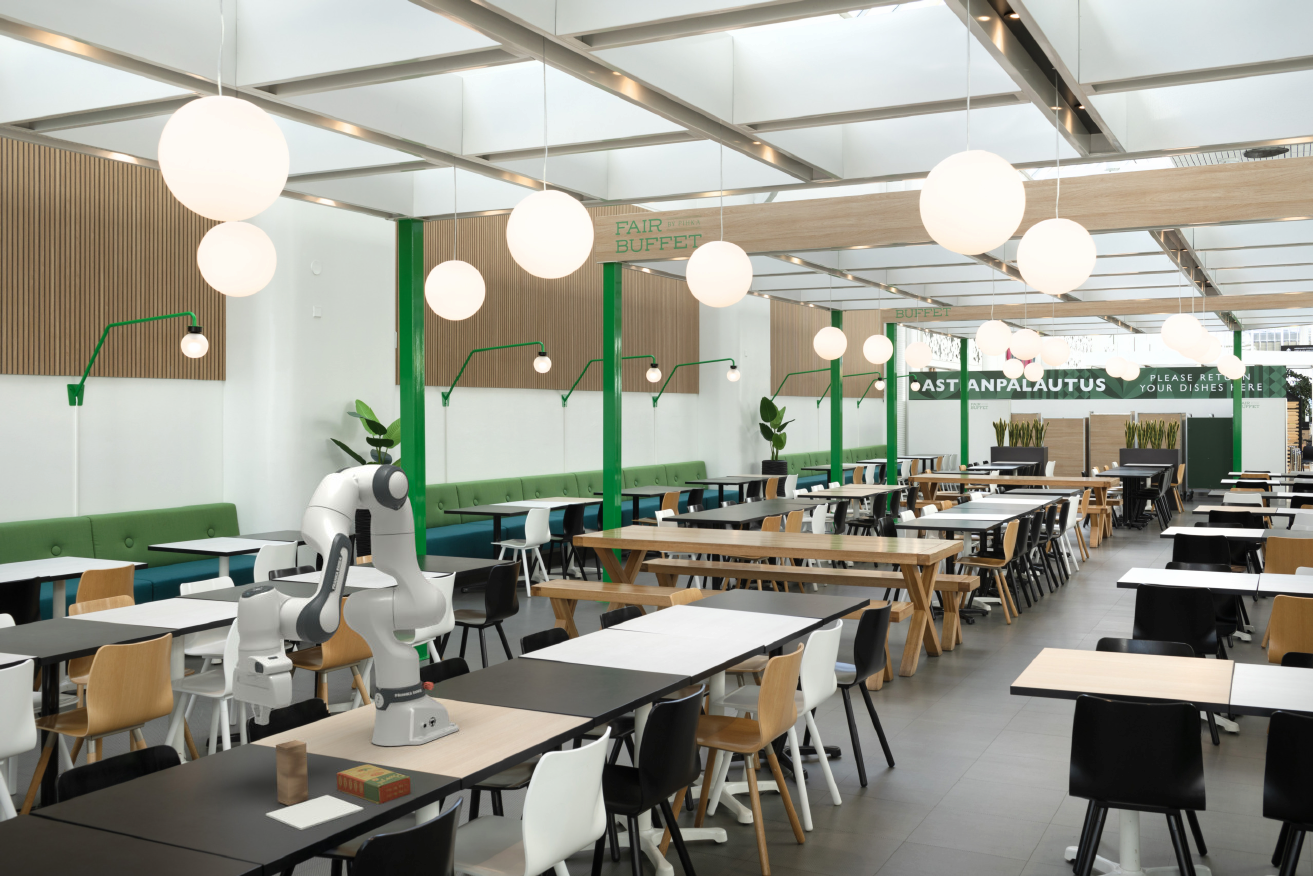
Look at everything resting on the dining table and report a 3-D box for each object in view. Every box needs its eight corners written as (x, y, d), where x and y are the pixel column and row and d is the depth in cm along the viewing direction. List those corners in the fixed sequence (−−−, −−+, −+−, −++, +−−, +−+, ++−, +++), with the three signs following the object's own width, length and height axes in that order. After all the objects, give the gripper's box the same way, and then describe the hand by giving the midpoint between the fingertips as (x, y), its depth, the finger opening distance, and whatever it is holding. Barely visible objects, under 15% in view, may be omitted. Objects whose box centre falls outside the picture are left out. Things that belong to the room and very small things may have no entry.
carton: (369, 781, 234) (368, 762, 234) (412, 795, 223) (411, 775, 223) (336, 791, 228) (335, 772, 228) (379, 806, 217) (378, 785, 217)
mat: (327, 796, 223) (327, 795, 223) (363, 810, 214) (363, 808, 214) (265, 815, 213) (265, 813, 213) (301, 830, 203) (301, 828, 203)
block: (297, 796, 224) (295, 740, 224) (308, 800, 221) (306, 743, 221) (277, 802, 221) (275, 745, 221) (288, 806, 218) (286, 748, 218)
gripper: (223, 659, 234) (225, 720, 233) (269, 667, 220) (271, 733, 220) (250, 654, 238) (252, 715, 238) (296, 662, 225) (298, 726, 224)
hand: (261, 724), depth 229 cm, fingers closed
